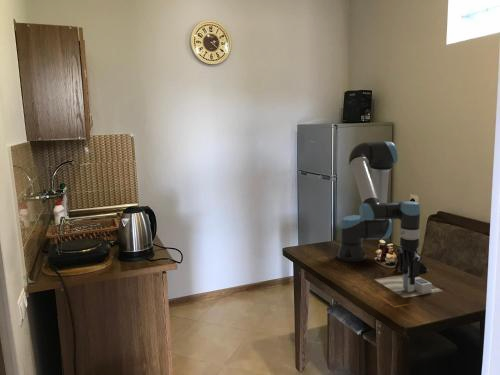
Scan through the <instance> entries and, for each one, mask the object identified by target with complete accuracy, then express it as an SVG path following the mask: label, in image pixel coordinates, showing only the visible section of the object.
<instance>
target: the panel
mask: <svg viewBox="0 0 500 375" xmlns="http://www.w3.org/2000/svg"><path fill="white" fill-rule="evenodd" d="M374 280H375V281H376V282H377V283H379V284H380V285H382V286H384V287H386V288H388V289H389V290H390V291H392V292H393V293H395V294H397V295H398V296H400V297H402V298H403V299H404V298H410V297H411V298H412V297H416V296H422V295H428V294H432V293H434V294H435V293H439V292H443V289H440V288H438V287H437V286H434V285H433V284H432V292H430V293H424V294H421V293H419V292H418V291H416V290H414V291H413V292H412V293H407V292H405V289H403V274H401V275H400V274H399V275H395V276H388V277H387V276H386V277H380V278H376V279H375V278H374Z"/></svg>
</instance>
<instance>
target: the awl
mask: <svg viewBox="0 0 500 375" xmlns="http://www.w3.org/2000/svg"><path fill="white" fill-rule="evenodd" d="M408 276H409V267H408V273H407V275H405V292H407V293H412V292H413V291H410V292H408Z"/></svg>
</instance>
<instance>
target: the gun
mask: <svg viewBox="0 0 500 375" xmlns="http://www.w3.org/2000/svg"><path fill="white" fill-rule="evenodd" d="M396 260H397V261H396V263H395V267H394V268H395V272H398V271H399V254H397V256H396ZM426 272H427V273H429V269H428V268H427V266H426V265H425V264H424V263H423V262H422V260H421V261H420V270H419V273H426Z"/></svg>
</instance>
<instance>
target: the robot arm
mask: <svg viewBox="0 0 500 375" xmlns="http://www.w3.org/2000/svg"><path fill="white" fill-rule="evenodd" d="M398 159H399V158H398V150H397V147H396V145H395V143H393V142H392V141H370V142H367V141H365V142H361V143H358V144H357V145H356V146H354V147H353V148H352V149H351V152H350V154H349V157H348V164H349V168H350V169H351V170H352V171H353V175H354V178H355V181H356V185H357V186H356V187H357V188H358V189H357V190H358V193H359V196H360V199H361V200H360V201H361V204H360V205H359V207H358V208H359V209H358V211H359V215H357V214H353V215H347V216H344V217H343V218H341V220H340V245H339V248H338V252H337V258H338V259H339V260H340V261H343V262H348V263H360V262H363V261H365V260H366V252H365V249H364V245H363V240H384V239H388V238H389V237H390V236H391V234H392V230H393V222H392V221H393V220H400V238H399V245H400V247H401V248H397V253H398V254H399V268H398V271H400V272H401V275H403V289H405V275H407V274H408V267H409V276H408V292H410V291H414V284H415V277H420V272H419V270H420V261H421V262H422V259H423V257H422V256H421V255H419V254H418V250H417V249H419V246H420V239H419V238H420V217H421V208H420V207H421V206H420V203H419V202H417V201H410V200H409V201H401V200H397V201H393V202H388V192H389V189H388V188H389V178H390V171H391V170H393V166H394V165H396V164H397V162H398ZM398 254H397V255H398Z"/></svg>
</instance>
